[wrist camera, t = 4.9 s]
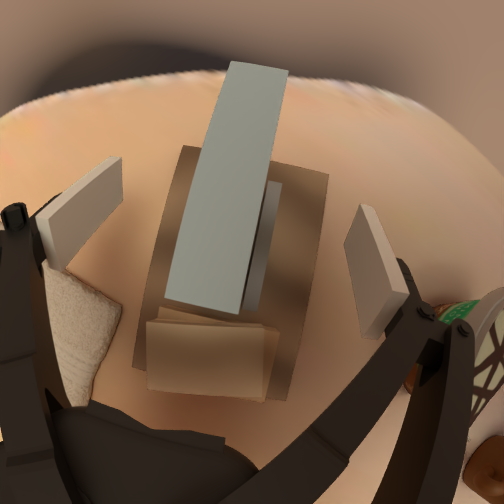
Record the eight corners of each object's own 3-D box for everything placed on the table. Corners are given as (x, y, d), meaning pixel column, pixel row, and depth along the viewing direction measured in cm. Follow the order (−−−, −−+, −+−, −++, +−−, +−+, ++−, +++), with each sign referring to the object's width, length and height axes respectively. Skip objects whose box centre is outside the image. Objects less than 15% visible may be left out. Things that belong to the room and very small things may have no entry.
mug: (428, 487, 21) (472, 526, 11) (461, 430, 22) (516, 459, 12) (482, 482, 20) (522, 508, 11) (509, 434, 21) (555, 453, 12)
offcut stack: (261, 391, 21) (267, 416, 16) (156, 368, 21) (136, 386, 16) (276, 323, 22) (287, 332, 17) (169, 300, 21) (149, 302, 17)
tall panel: (239, 299, 22) (238, 314, 8) (211, 294, 22) (164, 297, 8) (260, 194, 23) (288, 70, 9) (235, 189, 23) (231, 61, 9)
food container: (445, 262, 24) (523, 247, 14) (474, 307, 23) (549, 307, 13) (360, 364, 22) (427, 400, 12) (398, 405, 22) (464, 448, 12)
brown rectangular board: (283, 396, 22) (290, 410, 19) (136, 364, 22) (122, 373, 19) (325, 178, 24) (336, 164, 21) (185, 150, 24) (178, 133, 21)
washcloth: (4, 219, 23) (-14, 212, 20) (132, 304, 23) (117, 306, 20) (-26, 316, 21) (-44, 317, 18) (89, 416, 21) (74, 428, 18)
